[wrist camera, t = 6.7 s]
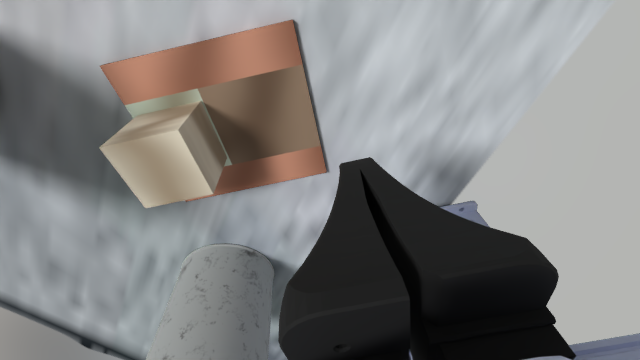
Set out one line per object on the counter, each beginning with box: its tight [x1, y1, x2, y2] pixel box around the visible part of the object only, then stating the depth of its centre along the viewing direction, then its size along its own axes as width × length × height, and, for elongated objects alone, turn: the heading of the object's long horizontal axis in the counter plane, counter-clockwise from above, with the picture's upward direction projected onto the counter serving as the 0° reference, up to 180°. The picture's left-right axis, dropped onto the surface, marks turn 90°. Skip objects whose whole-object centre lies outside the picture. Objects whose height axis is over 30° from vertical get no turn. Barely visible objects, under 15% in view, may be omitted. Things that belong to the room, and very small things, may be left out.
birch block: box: [99, 101, 227, 208], centre depth 18 cm, size 4×4×4 cm
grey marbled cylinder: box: [146, 243, 275, 360], centre depth 25 cm, size 10×10×12 cm
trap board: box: [100, 20, 327, 202], centre depth 20 cm, size 12×11×1 cm
